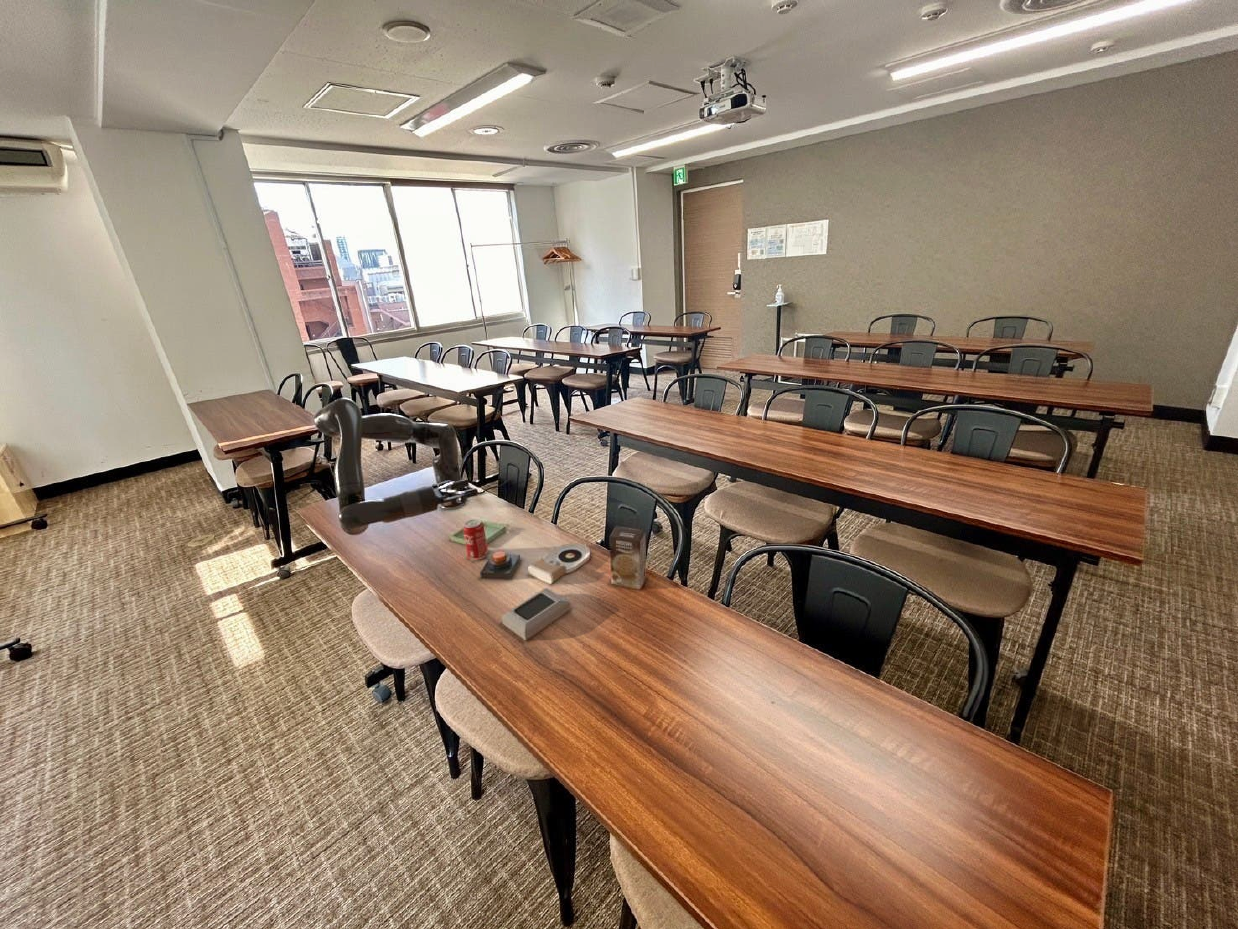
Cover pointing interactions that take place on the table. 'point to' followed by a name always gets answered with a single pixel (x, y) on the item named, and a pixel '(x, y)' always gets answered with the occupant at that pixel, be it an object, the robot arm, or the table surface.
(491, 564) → the button box
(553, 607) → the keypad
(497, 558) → the button
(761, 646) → the table surface
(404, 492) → the robot arm
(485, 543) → the beverage can
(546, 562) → the record player
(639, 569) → the coffee box
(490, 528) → the tray
